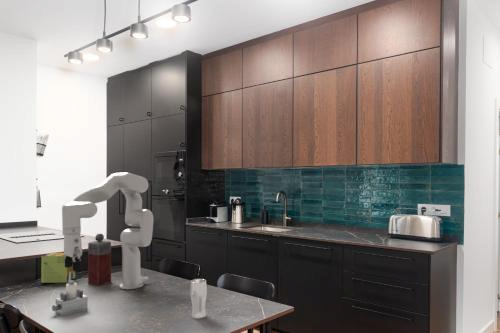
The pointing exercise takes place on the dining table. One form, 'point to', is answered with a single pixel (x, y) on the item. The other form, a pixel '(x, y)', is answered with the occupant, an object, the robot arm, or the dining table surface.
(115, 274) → the dining table surface
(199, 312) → the beer glass
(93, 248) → the red canister
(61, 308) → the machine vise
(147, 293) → the dining table surface
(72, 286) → the bottle
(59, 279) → the protein box
